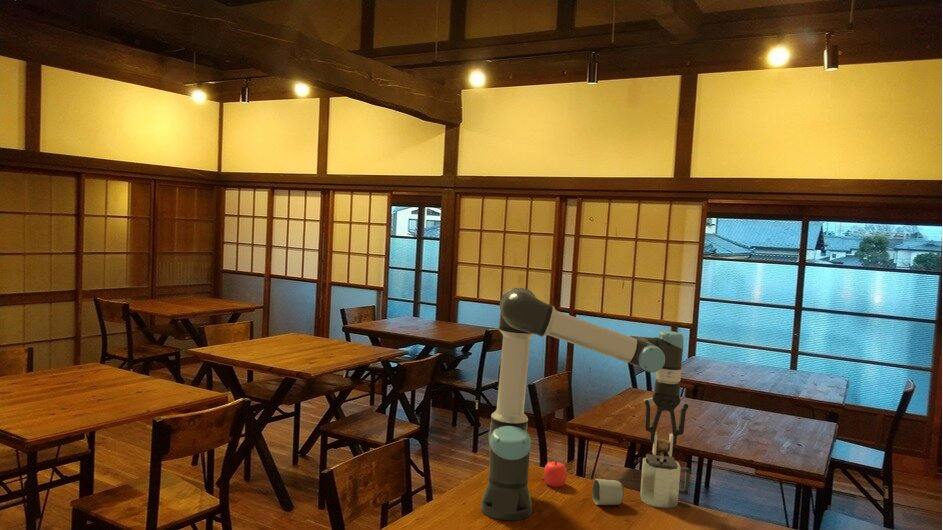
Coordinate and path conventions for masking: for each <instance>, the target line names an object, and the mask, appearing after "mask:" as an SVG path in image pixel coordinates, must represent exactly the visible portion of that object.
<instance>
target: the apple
mask: <svg viewBox="0 0 943 530" xmlns="http://www.w3.org/2000/svg"><path fill="white" fill-rule="evenodd" d="M567 475H568V474H567V468H566V466H565V464H564V463H562V462H558V460H555V461H550V462H549V461H548V462H547V463H546V464H545V466H544V470H543V476H544V478H543V479H544V483H546V484H547V485H548V486H550V487H551V486H552V488H558V487H559V486H560V487H563V486H564V485H565V484H566V480H567Z"/></svg>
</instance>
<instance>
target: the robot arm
mask: <svg viewBox="0 0 943 530" xmlns="http://www.w3.org/2000/svg"><path fill="white" fill-rule="evenodd" d="M499 302H500V303H499V309H500V310H499V311H500V313H499V324H498V331H499V332H500V333H501V334H502V343H501V344H502V345H501V347H502V348H501V357H500V358H501V359H500V367H499V381H498V388H497V390H498V391H497V399H496V400H497V403H496V409H495V411H494V412H492V413H491V415H490V427H489V430H488V434H487V435H488V436H487V437H488V438H487V439H488V444H489V445H488V446H489V465H488V466H489V467H488V468H489V469H488V481H487V484H486V487H485V490H484V492H483V495H482V497H481V502H480V509H481V512H482V513H484V514H485V515H486V516H488V517H490V518H492V519H496V520H501V521H521V520H524V519H527V518H529V517H530V516H531V515H532V514H533V513H532V512H533V503H532V498H531V494H530V490H529V486H528V481H529V467H530V453H531V452H530V451H531V448H532V447H531V446H532V445H531V443H532V442H531V437H530V434H529V433H528V424H529V423H528V422H529V418H528V416H527V415H526V414H525V403H526V394H527V393H526V392H527V382H528V381H527V380H528V369H529V361H530V360H529V359H530V348H531V339H532V337H533V336H535V335H536V336H539V337H541V338H544V337H546V336H550V337H553V338H555V339H558V340H561V341H564V342H567V343H570V344H573V345H576V346H579V347H581V348H585V349H587V350H590V351H593V352H596V353H598V354H602V355H604V356H607V357H610V358H614V359H616V360H619V361H622V362H625V363H627V364H630V365H633V366H636V367H638V368H641V370H643V371H645V372H648V373H655V379H656V380H655V382H654V391H653V392H654V393H653V395H652V397H650V398H644V399H643V402H644V404H645V418H644V419H645V420H644V428H645V431H646V432H649V433H650V434H649V435H650V437H649V441H650V444H652V455H657V450H656V447H657V439H658V432H657V428H658V425H659V421H660V418H661V415H662V412H663V411H666V412H668V413H669V417H670V424H671V425H670V426H671V433H669V437H668V438H669V439H668V440H669V441H670V445H669V452H667V454H668V457H673V447H676V446H677V442H678V441H677V439H678V436H680V435H681V436H682V435H684V430H685V421H686V413H687V410H688V409H689V404H688V403H687V402H686V401H683V400H681V398H680V392H681V391H680V390H681V383H680V382H681V380H682V379H681V377H682V376H681V375H682V364H683V355H684V335H683V334H682V333H681V332H678V331H673V330H662V331H660V332H659V333H658V336H656V337H652V336H651V337H649V336H648V337H647V336H633V335H627V334H623V333H621V332H618V331H615V330H612V329H609V328H607V327H604V326H600V325H598V324H595V323H593V322H589V321H587V320H584V319H582V318H578V317H575V316H574V315H573V316H572V315H570V314H567V313H565V312H561V311H558V310H556V308H555V306H554V305H552V304H549V303H546V302H545V301H543V300H541V299H539V298H537V296H536V295H535V294H534V293H533V291H531V290H529V289H527V288H525V287H514V288H510V289H508V290H507V291H506V292H505V293H504V294H503V295H502V297H501V299H500V301H499ZM653 403H654V405H656V410H655V414H654V418H653V420H652V423H651V406H653ZM678 406H679V408H680V414H679V423H678V427H677V423H676V415H675V409H676V408H677V407H678ZM650 425H651V426H650ZM677 428H678V429H677Z"/></svg>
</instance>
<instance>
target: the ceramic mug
mask: <svg viewBox="0 0 943 530" xmlns="http://www.w3.org/2000/svg"><path fill="white" fill-rule="evenodd" d="M591 494H592V500H593V503H594V504H595V505H597V506H617V505H622V503H623V501H624V498H625V490H624V485H623V483H621V481H619V480H616V479H615V480H614V479H603V478H596V479H594V480H593V482H592V487H591Z"/></svg>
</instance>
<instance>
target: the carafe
mask: <svg viewBox="0 0 943 530" xmlns="http://www.w3.org/2000/svg"><path fill="white" fill-rule="evenodd" d="M659 467H663V468H659ZM681 473H685V474H684V487H683V488H680V479H681V478H680V477H681ZM690 473H691V469H690V468H689V467H686V466H685V467H682V466H681V464H680V462H679V461H677V460H675V457H673V456H672V457H669V456H665V455H664V458H663V462H660V455H657V454H656V455H653V454H646V457H642V464H641V476H640V477H641V480H640V490H639V491H640V493H639V495H640V500H641V502H642V503H644V504H645V505H647V506H649V507H653V508H656V509H657V508H658V509H663V510H664V509H665V510H666V509H668V510H669V509H673V508H675V507H676V506H678V503H679V494H681V495H689V485H690V475H691V474H690Z"/></svg>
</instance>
